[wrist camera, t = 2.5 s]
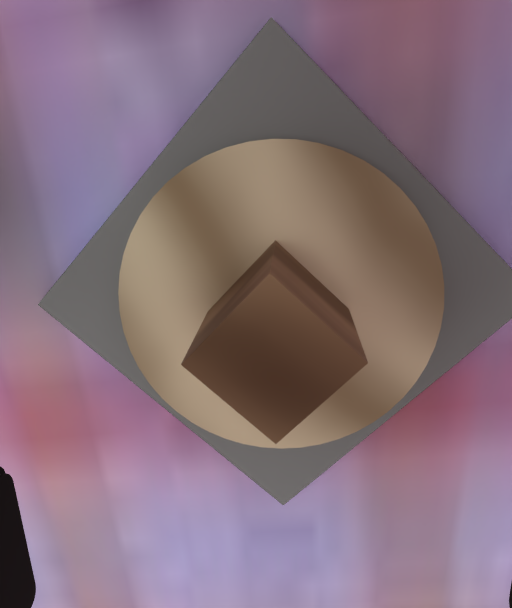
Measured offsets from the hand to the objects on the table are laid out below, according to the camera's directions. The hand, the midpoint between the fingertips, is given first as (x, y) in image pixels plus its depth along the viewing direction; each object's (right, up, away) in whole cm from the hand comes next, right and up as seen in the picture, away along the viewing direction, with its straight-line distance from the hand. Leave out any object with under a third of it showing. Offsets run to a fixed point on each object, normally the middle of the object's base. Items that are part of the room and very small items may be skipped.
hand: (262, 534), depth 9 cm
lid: (+1, +4, +12) cm, 12 cm away
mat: (+1, +5, +12) cm, 13 cm away
